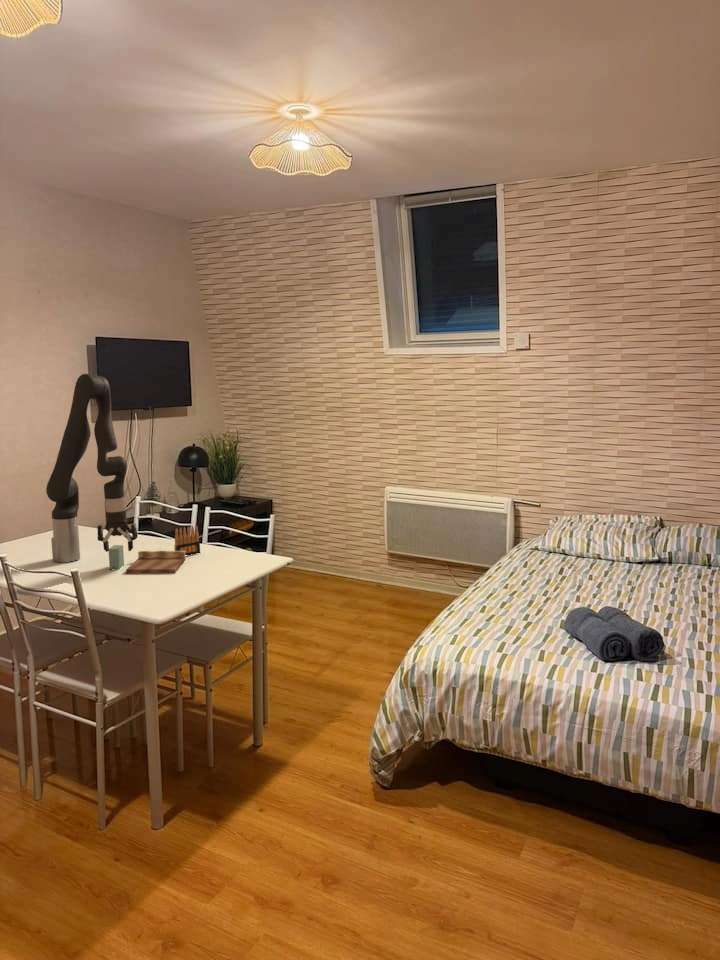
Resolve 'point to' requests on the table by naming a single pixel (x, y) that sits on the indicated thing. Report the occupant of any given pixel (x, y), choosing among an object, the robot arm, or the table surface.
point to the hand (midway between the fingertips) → (118, 550)
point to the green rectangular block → (116, 557)
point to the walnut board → (157, 562)
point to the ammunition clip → (187, 541)
